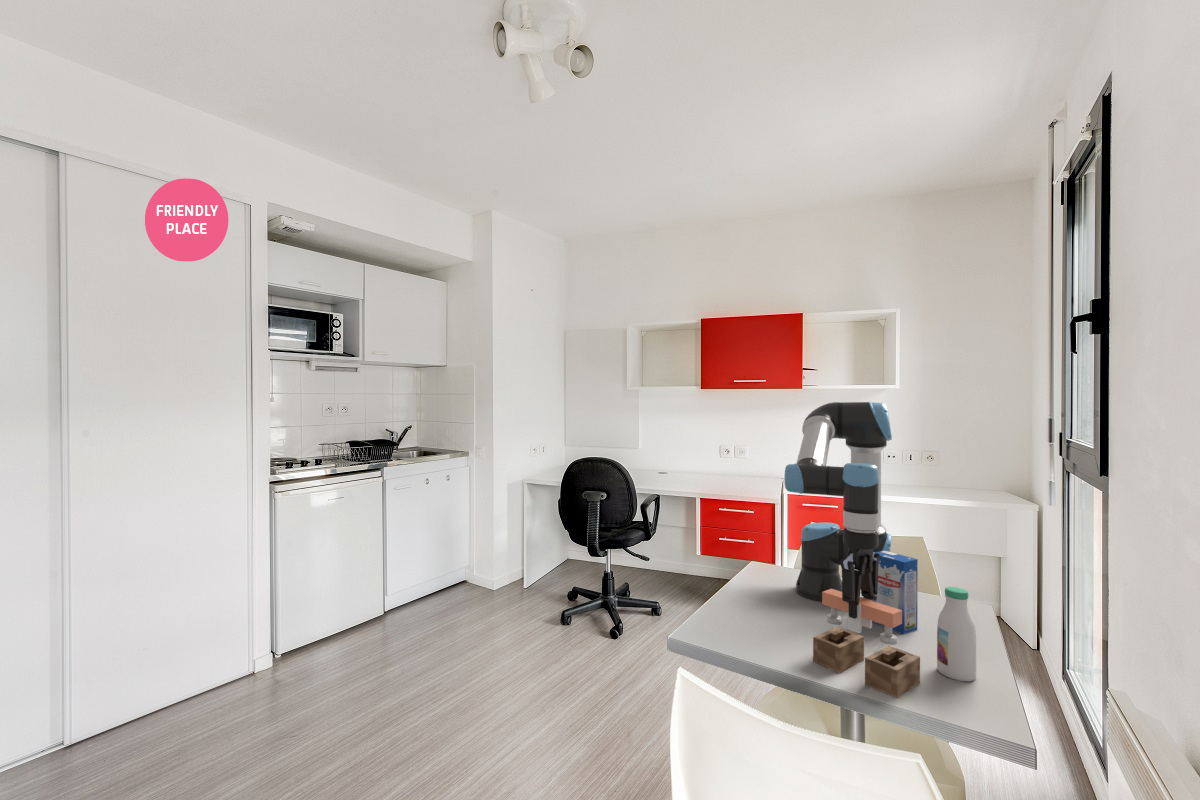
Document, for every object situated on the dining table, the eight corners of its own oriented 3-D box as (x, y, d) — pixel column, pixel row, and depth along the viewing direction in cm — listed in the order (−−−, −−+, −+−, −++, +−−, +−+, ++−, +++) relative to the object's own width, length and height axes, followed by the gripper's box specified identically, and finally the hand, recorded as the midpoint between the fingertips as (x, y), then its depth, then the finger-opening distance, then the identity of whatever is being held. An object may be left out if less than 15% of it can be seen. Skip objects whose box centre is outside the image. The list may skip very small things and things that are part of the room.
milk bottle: (978, 673, 126) (978, 588, 126) (973, 686, 120) (973, 597, 120) (940, 662, 131) (940, 581, 131) (934, 674, 125) (934, 589, 125)
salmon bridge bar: (822, 621, 131) (822, 591, 131) (831, 617, 133) (831, 588, 133) (893, 646, 117) (893, 614, 117) (901, 642, 119) (902, 610, 120)
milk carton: (871, 621, 156) (871, 553, 156) (884, 617, 159) (884, 550, 159) (904, 634, 147) (904, 562, 147) (917, 630, 150) (917, 559, 150)
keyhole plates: (837, 649, 138) (837, 626, 138) (919, 683, 121) (920, 656, 121) (813, 661, 131) (813, 637, 131) (896, 698, 115) (896, 670, 115)
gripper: (863, 521, 133) (863, 615, 133) (825, 530, 124) (824, 631, 123) (894, 527, 127) (894, 625, 127) (856, 537, 117) (856, 643, 117)
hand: (860, 628), depth 125 cm, fingers closed on salmon bridge bar, 4 cm apart
